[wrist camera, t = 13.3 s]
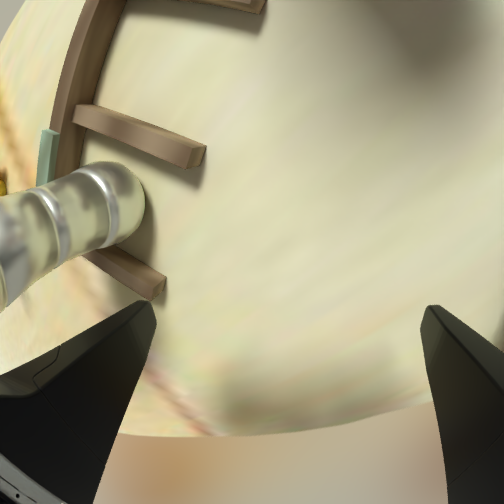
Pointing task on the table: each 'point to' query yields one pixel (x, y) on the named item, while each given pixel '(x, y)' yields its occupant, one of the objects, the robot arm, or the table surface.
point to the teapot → (2, 188)
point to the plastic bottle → (65, 222)
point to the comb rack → (109, 127)
